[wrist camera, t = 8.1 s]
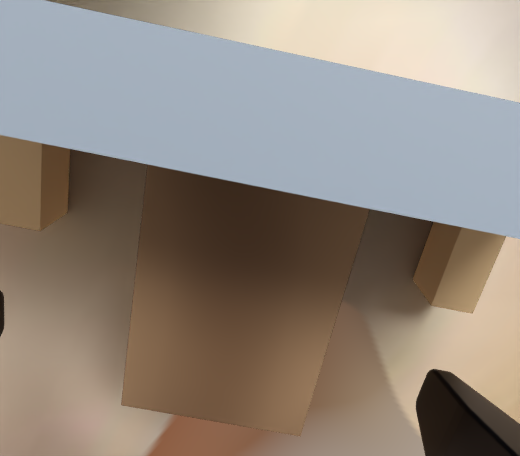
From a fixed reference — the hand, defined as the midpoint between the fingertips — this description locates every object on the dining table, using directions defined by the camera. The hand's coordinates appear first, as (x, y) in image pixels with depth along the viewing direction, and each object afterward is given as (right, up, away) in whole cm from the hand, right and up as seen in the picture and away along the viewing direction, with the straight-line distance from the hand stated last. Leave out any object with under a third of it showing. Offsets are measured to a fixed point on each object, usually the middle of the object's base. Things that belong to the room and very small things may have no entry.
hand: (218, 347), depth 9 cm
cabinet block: (0, +2, +7) cm, 8 cm away
